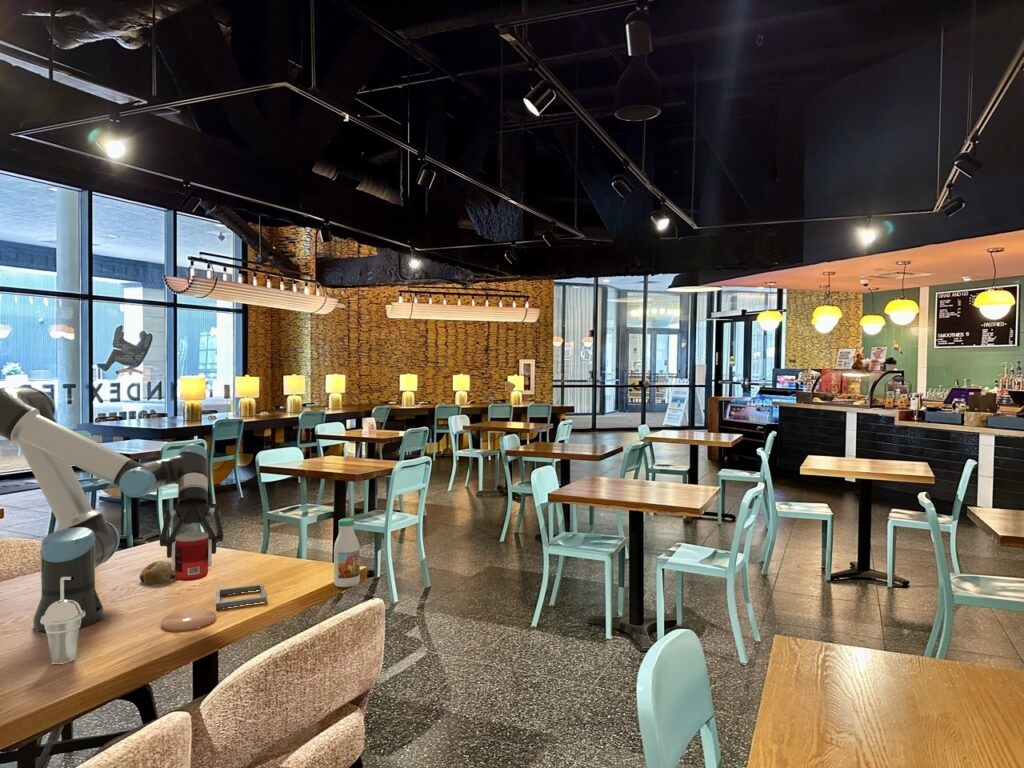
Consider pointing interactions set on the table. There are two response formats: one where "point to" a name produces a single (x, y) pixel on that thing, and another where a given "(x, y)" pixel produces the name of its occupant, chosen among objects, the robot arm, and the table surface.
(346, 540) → the milk bottle
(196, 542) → the canned food
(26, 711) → the table surface
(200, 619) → the terracotta plate
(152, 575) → the bread roll
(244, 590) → the square metal frame
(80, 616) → the cup with straw
